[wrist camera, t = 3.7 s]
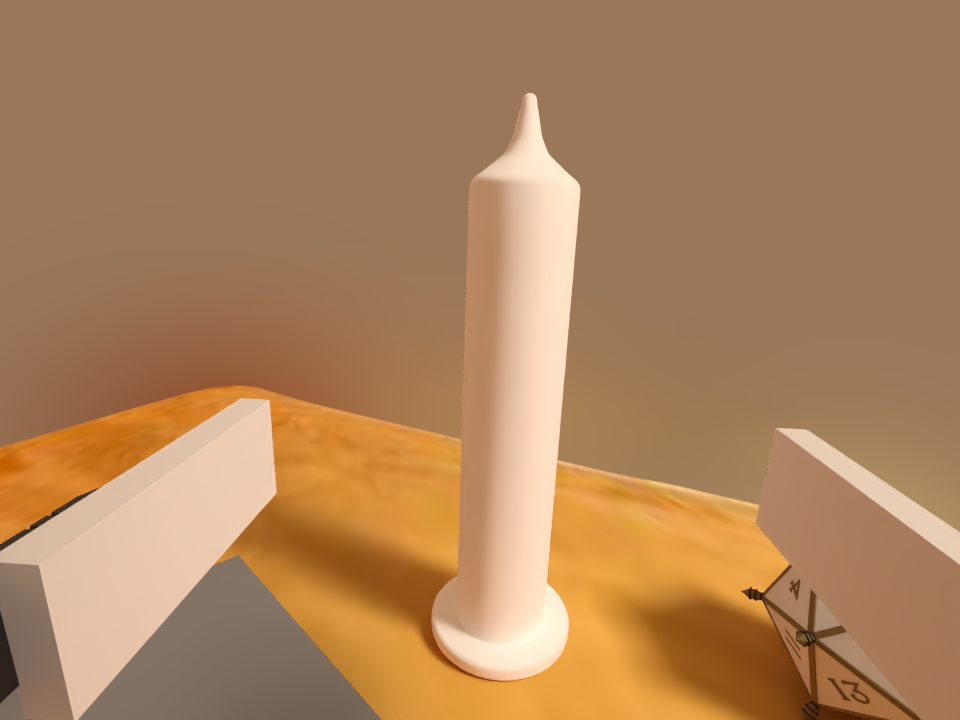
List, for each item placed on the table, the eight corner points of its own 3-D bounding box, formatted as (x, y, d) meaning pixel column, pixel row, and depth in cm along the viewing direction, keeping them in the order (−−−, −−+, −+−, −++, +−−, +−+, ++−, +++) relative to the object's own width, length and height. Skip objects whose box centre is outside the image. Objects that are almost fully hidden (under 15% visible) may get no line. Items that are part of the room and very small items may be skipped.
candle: (402, 625, 25) (400, 85, 19) (489, 560, 30) (511, 120, 24) (513, 714, 21) (561, 49, 14) (592, 619, 26) (653, 101, 20)
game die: (783, 748, 24) (677, 552, 25) (901, 651, 26) (797, 475, 27) (1002, 898, 15) (822, 587, 17) (1152, 734, 17) (981, 471, 19)
